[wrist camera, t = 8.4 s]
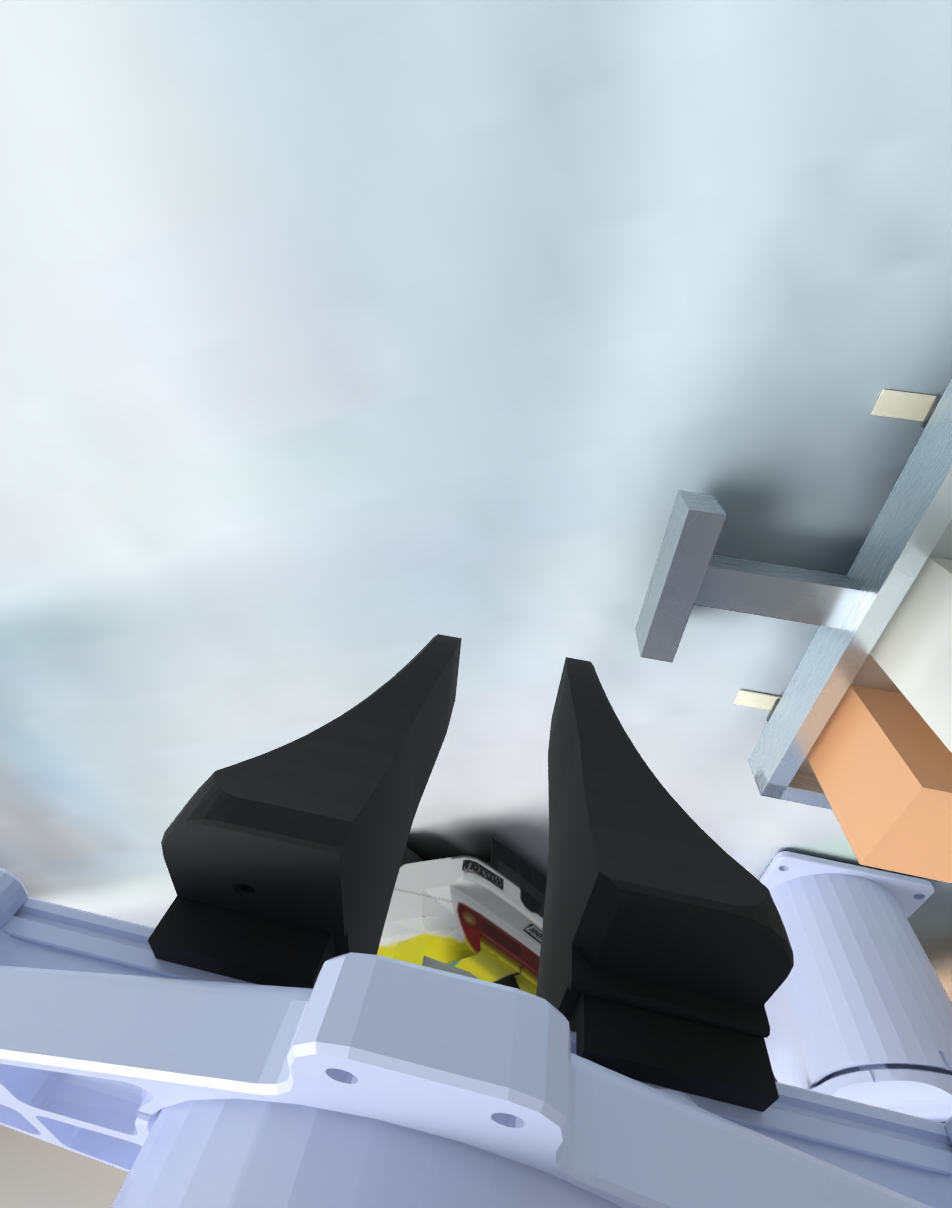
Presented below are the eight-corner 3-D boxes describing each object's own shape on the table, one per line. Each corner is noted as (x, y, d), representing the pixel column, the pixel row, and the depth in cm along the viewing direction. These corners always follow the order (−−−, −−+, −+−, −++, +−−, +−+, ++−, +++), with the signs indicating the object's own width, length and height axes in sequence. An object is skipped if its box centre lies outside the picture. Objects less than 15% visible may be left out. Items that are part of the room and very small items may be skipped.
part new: (904, 775, 22) (983, 889, 18) (805, 756, 22) (859, 864, 18) (960, 703, 20) (1064, 814, 16) (850, 684, 20) (923, 787, 16)
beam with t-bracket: (893, 770, 25) (932, 829, 22) (602, 715, 26) (604, 764, 23) (1210, 349, 15) (1349, 360, 12) (729, 295, 16) (759, 295, 14)
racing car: (166, 953, 47) (57, 1131, 37) (474, 774, 32) (436, 997, 21) (308, 1038, 52) (246, 1219, 41) (639, 919, 36) (674, 1162, 26)
